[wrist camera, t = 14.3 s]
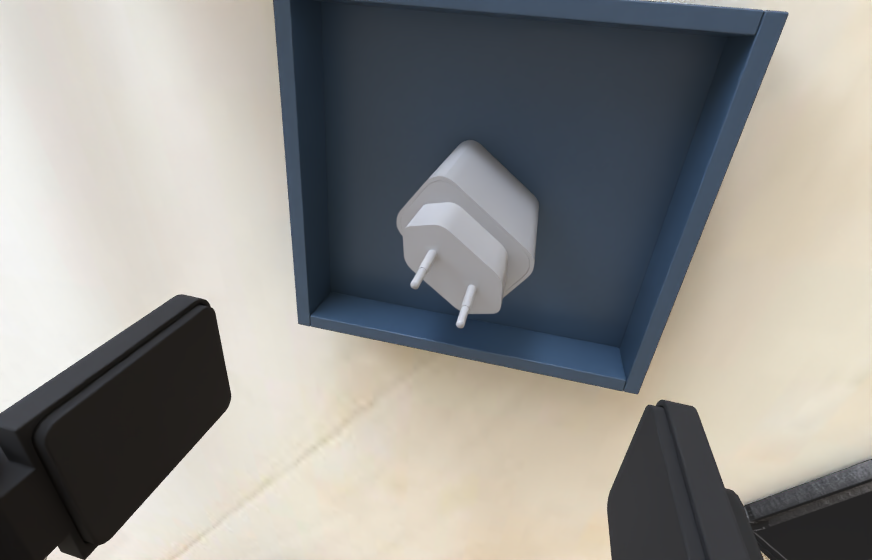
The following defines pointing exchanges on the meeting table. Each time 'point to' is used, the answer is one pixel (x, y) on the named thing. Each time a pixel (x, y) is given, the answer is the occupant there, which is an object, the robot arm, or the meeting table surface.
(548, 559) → the meeting table surface
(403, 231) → the power adapter
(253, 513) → the meeting table surface
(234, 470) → the meeting table surface
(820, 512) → the phone
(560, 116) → the tray
